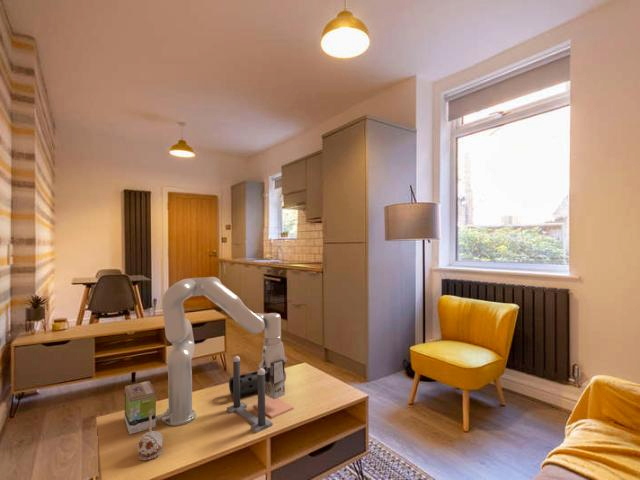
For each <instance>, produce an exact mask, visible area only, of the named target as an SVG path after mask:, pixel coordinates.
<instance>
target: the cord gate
mask: <svg viewBox="0 0 640 480" xmlns="http://www.w3.org/2000/svg"><path fill="white" fill-rule="evenodd" d="M232 369H233V370H232V374H233V376H232V377H233V396H232V398H233V403H232V404H233V405H231V406H228V407H226V411H227V412H228V413H229V414H233V413H237V414H239V415H240V416H241V417H242V418H244V419H245V420H246V421H248V422H249V423H251V424H252V425H251V426H250V430H252V432H254V433H255V434H257V433H260V432H261V431H263V430H266V429H268V428H271V427H273V425H274V423H273V421H272V420H269V419H268V418H266V414H265V400H266V395H265V370H264V369H263V368H260V369H259V368H258V370H257V371H258V372H257V374H258V390H257V403H258V409H257V416H256V415H254V414H253V413H252V412H250V411H248V410H247V408H248V407H247V406H248V404H246V403H245V402H243V401H241V396H240V375H241V358H240V356H239V355H236V356H233V359H232Z"/></svg>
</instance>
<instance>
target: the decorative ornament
mask: <svg viewBox="0 0 640 480" xmlns="http://www.w3.org/2000/svg"><path fill="white" fill-rule="evenodd" d="M136 445H137V451H138V454H137V457H138V459H139V460H140V461H147V460H149V461H150V460H151V459H155V458H156V457H159V456H160V455H161V454H162V453H163V435H162V433H160V432H159V431H157V430H152V413H151V412H150V413H149V429H148V431H147V432H146V433H144V434H142V436H140V438H139V440H138V443H137V444H136Z"/></svg>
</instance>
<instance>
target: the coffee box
mask: <svg viewBox="0 0 640 480" xmlns="http://www.w3.org/2000/svg"><path fill="white" fill-rule="evenodd" d="M262 367H263V368H264V366H262ZM266 368H267V367H266ZM284 369H285V365H284V360H279V361H276V362H273V363H271V368H269V371H268V373H269V382H266V381H265V397H266V396H267V397H268V398H273V399H277V398H279V399H280V398H281V397H283V396H285V395H286V392H285V389H286V388H285V386H286V385H285V382H284Z"/></svg>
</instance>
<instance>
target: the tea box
mask: <svg viewBox="0 0 640 480" xmlns="http://www.w3.org/2000/svg"><path fill="white" fill-rule="evenodd" d="M150 412H151V413H152V428H156V425H157V423H156V422H157V419H156V416H157V391H156V390H155V388H154V386H153V384H152V383H151V381H150V380H148V381H143V382H139V383H138V382H137V383H133V384H129V385H125V387H124V421H125V425H126V427H127V430H128V434H129V435H132V434H135V433H136V434H137V433H139V432H143V431H146V430H149V413H150Z"/></svg>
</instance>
